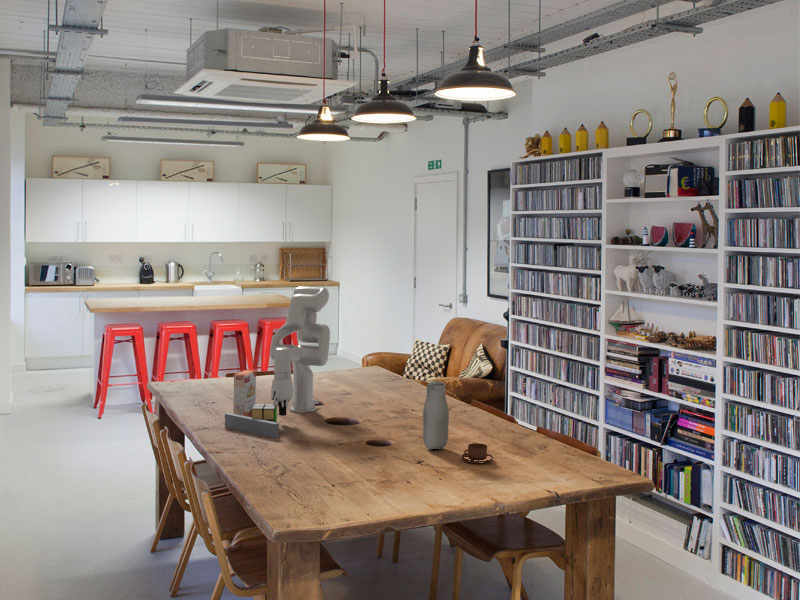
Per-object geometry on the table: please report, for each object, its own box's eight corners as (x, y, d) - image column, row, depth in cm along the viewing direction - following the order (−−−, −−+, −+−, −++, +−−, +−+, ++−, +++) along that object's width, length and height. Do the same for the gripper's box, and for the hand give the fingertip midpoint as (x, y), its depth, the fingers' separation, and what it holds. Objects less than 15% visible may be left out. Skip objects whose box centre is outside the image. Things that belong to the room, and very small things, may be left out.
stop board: (229, 426, 366) (229, 412, 365) (278, 437, 349) (278, 423, 348) (224, 427, 364) (224, 413, 363) (274, 438, 347) (274, 424, 346)
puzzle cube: (254, 425, 368) (254, 403, 367) (276, 425, 368) (276, 403, 367) (251, 431, 358) (251, 408, 357) (274, 431, 358) (274, 408, 357)
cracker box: (245, 420, 377) (245, 375, 375) (232, 419, 378) (232, 374, 377) (256, 413, 391) (256, 370, 389) (244, 412, 392) (244, 369, 390)
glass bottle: (435, 444, 341) (437, 377, 339) (452, 450, 333) (454, 381, 331) (417, 448, 335) (418, 380, 333) (433, 454, 327) (435, 384, 325)
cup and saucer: (480, 467, 311) (480, 451, 310) (455, 461, 319) (455, 445, 318) (499, 461, 319) (499, 445, 319) (474, 455, 327) (474, 440, 327)
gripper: (288, 371, 378) (287, 410, 380) (264, 376, 366) (264, 416, 368) (300, 373, 374) (300, 413, 376) (277, 378, 362) (277, 419, 364)
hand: (282, 415), depth 372 cm, fingers closed
